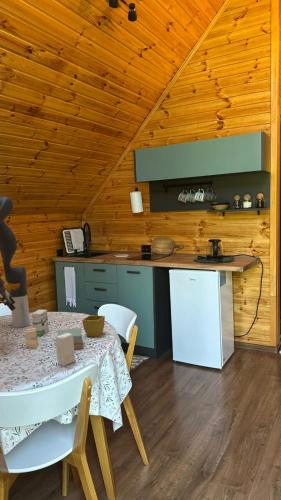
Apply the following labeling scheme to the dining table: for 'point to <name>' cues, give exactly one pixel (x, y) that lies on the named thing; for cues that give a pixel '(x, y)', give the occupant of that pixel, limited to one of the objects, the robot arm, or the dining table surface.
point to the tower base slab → (78, 346)
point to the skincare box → (65, 349)
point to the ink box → (40, 321)
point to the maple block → (31, 338)
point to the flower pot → (93, 325)
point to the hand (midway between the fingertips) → (13, 306)
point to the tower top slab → (76, 334)
